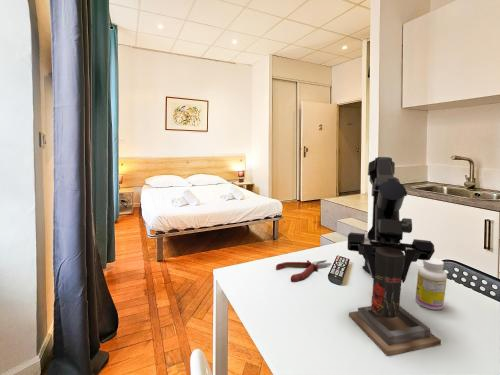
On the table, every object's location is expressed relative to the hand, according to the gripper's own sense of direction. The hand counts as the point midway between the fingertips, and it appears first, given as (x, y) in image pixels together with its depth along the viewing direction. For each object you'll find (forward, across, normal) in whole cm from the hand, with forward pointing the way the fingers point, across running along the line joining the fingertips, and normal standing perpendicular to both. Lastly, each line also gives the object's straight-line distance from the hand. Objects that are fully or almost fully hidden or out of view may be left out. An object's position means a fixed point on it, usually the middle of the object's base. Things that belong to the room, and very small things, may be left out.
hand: (388, 279), depth 64 cm
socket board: (+8, +2, +10) cm, 13 cm away
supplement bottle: (-2, +13, +22) cm, 25 cm away
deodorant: (+5, 0, +7) cm, 9 cm away
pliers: (-7, -23, +27) cm, 36 cm away
